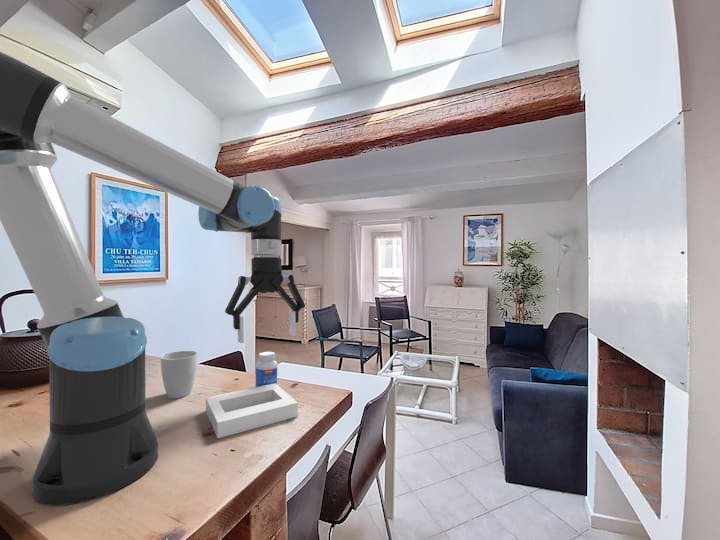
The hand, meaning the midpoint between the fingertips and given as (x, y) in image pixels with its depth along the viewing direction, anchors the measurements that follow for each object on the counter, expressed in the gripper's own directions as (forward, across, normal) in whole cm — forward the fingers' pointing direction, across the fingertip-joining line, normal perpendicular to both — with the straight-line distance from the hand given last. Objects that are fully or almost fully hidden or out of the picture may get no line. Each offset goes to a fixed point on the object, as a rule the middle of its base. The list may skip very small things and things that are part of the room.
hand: (267, 338), depth 83 cm
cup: (+14, -20, +10) cm, 26 cm away
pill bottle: (+14, 0, 0) cm, 14 cm away
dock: (+14, -7, -8) cm, 17 cm away
